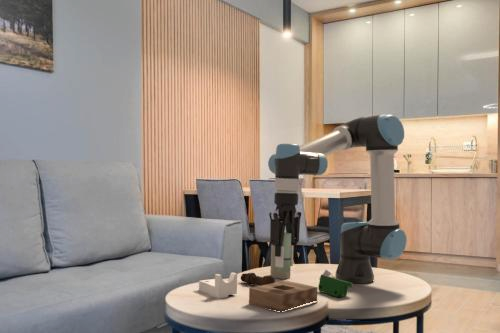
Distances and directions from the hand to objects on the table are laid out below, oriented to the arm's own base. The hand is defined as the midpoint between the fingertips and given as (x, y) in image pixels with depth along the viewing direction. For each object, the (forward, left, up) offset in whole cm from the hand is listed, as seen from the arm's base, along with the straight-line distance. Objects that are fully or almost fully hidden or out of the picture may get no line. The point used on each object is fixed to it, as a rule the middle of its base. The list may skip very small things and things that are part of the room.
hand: (284, 265), depth 152 cm
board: (0, 0, -12) cm, 12 cm away
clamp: (-25, +3, -12) cm, 28 cm away
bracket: (+6, -24, -12) cm, 28 cm away
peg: (0, 0, -2) cm, 2 cm away
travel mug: (-31, -27, -12) cm, 43 cm away
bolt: (-12, -23, -12) cm, 29 cm away
